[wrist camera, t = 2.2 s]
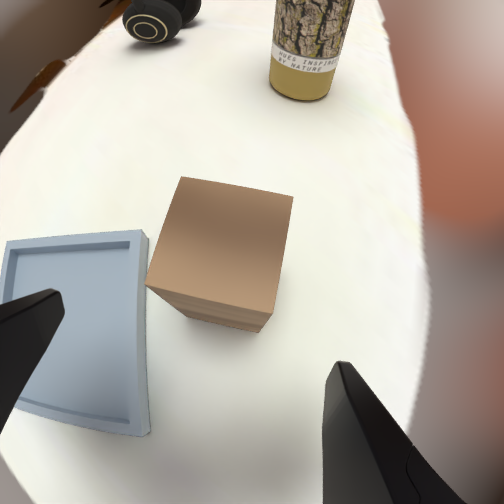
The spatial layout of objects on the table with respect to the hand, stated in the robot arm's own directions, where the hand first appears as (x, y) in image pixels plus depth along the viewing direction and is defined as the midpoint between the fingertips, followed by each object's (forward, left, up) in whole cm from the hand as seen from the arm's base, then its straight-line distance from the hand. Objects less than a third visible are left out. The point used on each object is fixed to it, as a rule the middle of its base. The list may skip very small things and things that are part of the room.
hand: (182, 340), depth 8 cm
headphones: (+42, +8, -11) cm, 44 cm away
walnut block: (+4, -1, -11) cm, 12 cm away
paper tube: (+26, -9, -11) cm, 30 cm away
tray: (+1, +12, -11) cm, 16 cm away
